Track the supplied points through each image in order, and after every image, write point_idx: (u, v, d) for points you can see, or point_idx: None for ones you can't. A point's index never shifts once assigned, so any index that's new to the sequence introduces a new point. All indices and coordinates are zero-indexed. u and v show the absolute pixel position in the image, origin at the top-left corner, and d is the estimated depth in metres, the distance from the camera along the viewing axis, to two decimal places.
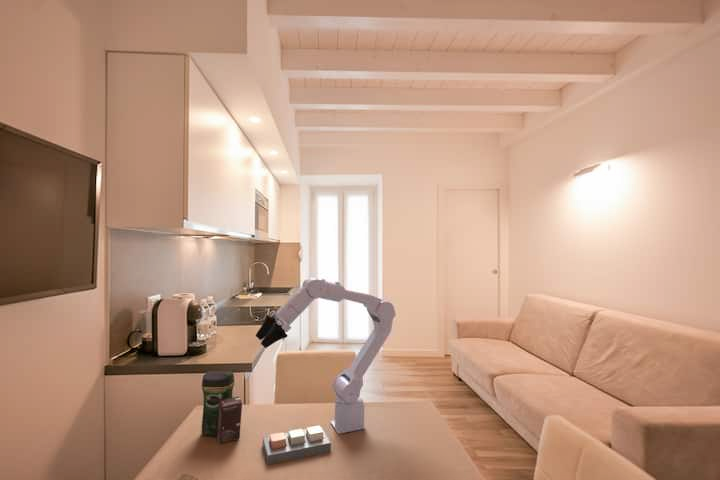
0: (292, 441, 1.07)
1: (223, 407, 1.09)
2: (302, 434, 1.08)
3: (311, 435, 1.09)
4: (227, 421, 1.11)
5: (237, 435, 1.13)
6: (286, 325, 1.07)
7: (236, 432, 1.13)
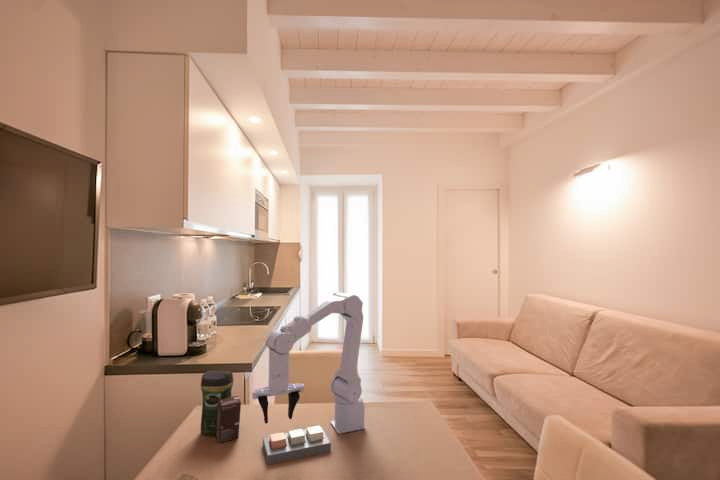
0: (292, 441, 1.07)
1: (222, 406, 1.10)
2: (302, 434, 1.08)
3: (311, 435, 1.09)
4: (226, 420, 1.11)
5: (236, 434, 1.13)
6: (303, 387, 1.09)
7: (235, 431, 1.13)
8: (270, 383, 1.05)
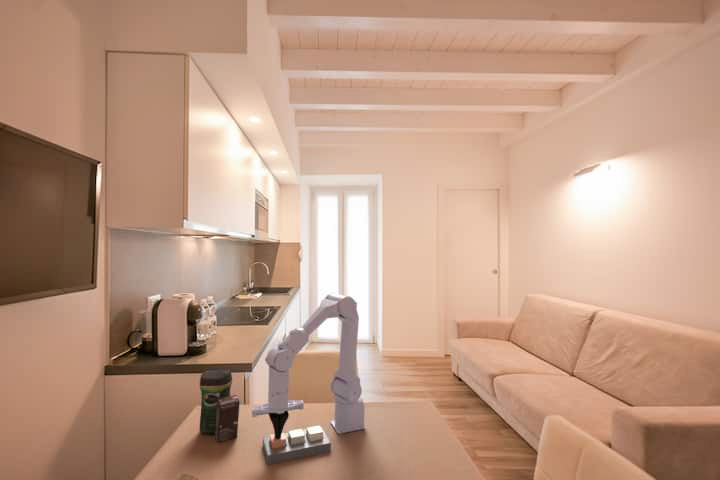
0: (292, 441, 1.07)
1: (221, 405, 1.10)
2: (302, 434, 1.08)
3: (311, 435, 1.09)
4: (225, 419, 1.12)
5: (235, 433, 1.14)
6: None
7: (234, 431, 1.14)
8: (270, 401, 1.05)
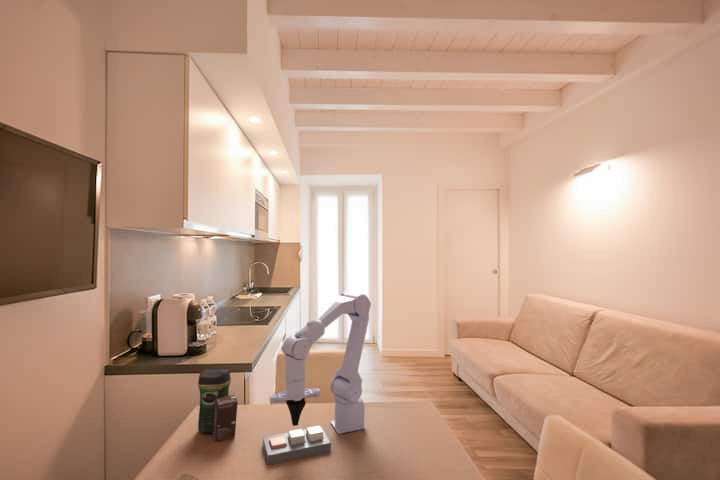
0: (292, 441, 1.07)
1: (218, 405, 1.10)
2: (302, 434, 1.08)
3: (311, 435, 1.09)
4: (223, 419, 1.12)
5: (232, 433, 1.14)
6: (319, 392, 1.11)
7: (231, 430, 1.14)
8: (287, 388, 1.07)
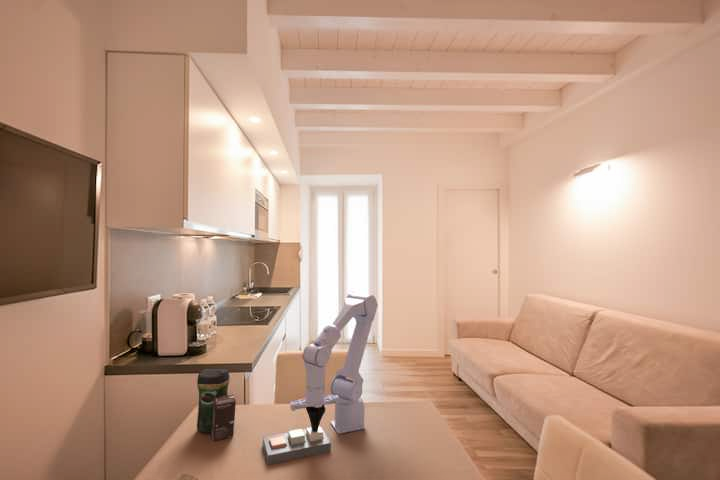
0: (292, 441, 1.07)
1: (217, 405, 1.11)
2: (302, 434, 1.08)
3: (311, 435, 1.09)
4: (221, 419, 1.12)
5: (231, 432, 1.14)
6: None
7: (230, 430, 1.14)
8: (308, 395, 1.09)
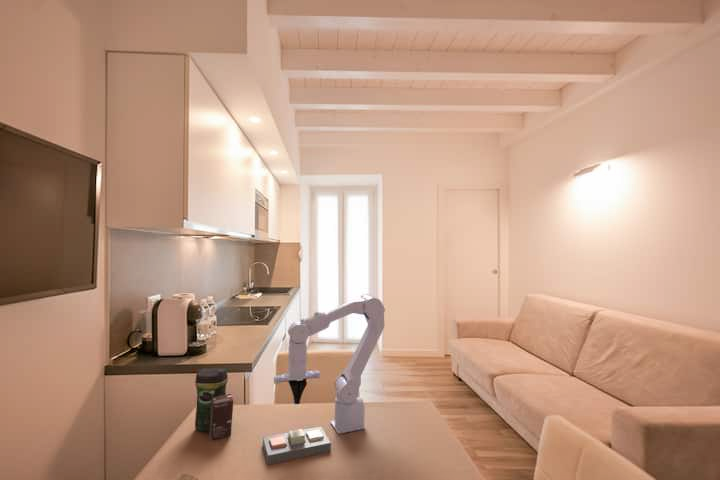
0: (292, 441, 1.07)
1: (214, 404, 1.11)
2: (302, 434, 1.08)
3: (311, 439, 1.09)
4: (218, 418, 1.12)
5: (228, 432, 1.15)
6: (319, 373, 1.20)
7: (227, 429, 1.14)
8: (290, 369, 1.16)
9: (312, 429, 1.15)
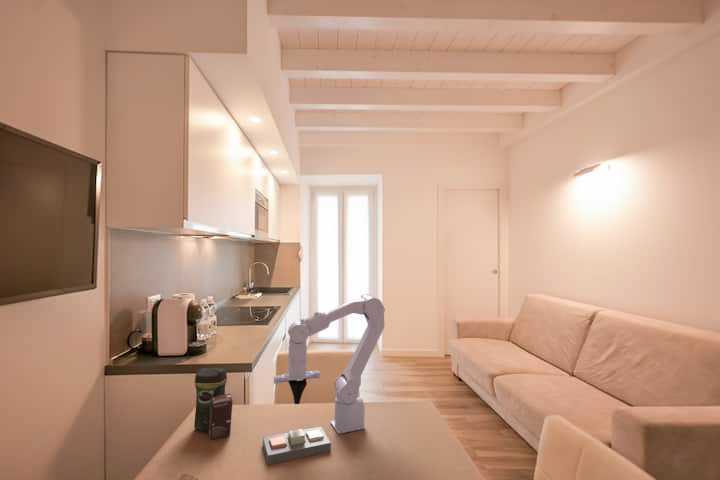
0: (292, 441, 1.07)
1: (213, 404, 1.11)
2: (302, 434, 1.08)
3: (311, 439, 1.09)
4: (218, 418, 1.13)
5: (228, 431, 1.15)
6: (319, 373, 1.20)
7: (226, 429, 1.15)
8: (290, 369, 1.16)
9: (312, 429, 1.15)
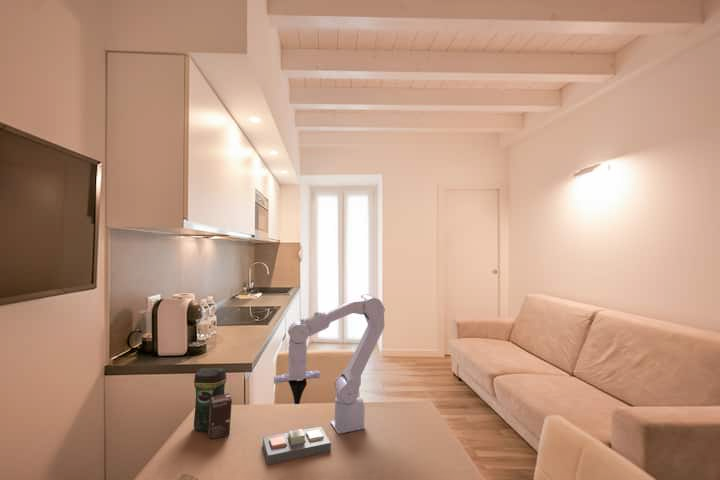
0: (292, 441, 1.07)
1: (212, 404, 1.12)
2: (302, 434, 1.08)
3: (311, 439, 1.09)
4: (217, 417, 1.13)
5: (227, 431, 1.15)
6: (319, 373, 1.20)
7: (226, 428, 1.15)
8: (290, 369, 1.16)
9: (312, 429, 1.15)
